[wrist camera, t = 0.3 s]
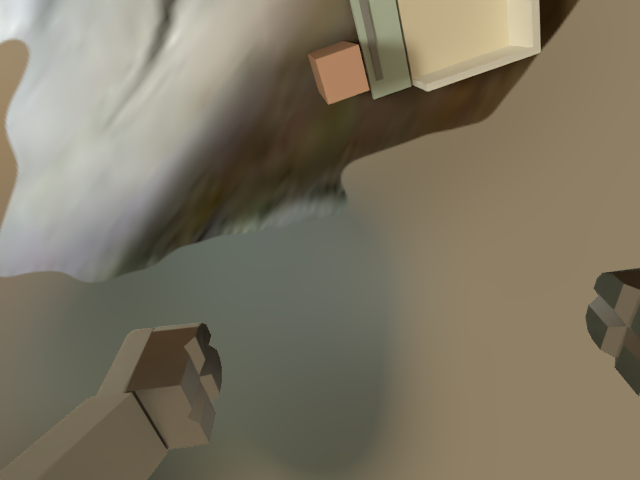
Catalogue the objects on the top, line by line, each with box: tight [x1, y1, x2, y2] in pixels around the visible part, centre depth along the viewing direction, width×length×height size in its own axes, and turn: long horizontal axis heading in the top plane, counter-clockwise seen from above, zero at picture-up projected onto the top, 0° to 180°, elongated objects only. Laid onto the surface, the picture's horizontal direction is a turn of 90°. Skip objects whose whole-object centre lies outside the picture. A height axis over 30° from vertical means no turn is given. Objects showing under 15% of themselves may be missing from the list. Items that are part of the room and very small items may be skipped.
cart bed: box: [396, 0, 541, 91], centre depth 44 cm, size 14×13×6 cm
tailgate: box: [350, 0, 411, 99], centre depth 46 cm, size 14×1×5 cm
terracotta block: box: [308, 41, 369, 104], centre depth 45 cm, size 4×4×9 cm
